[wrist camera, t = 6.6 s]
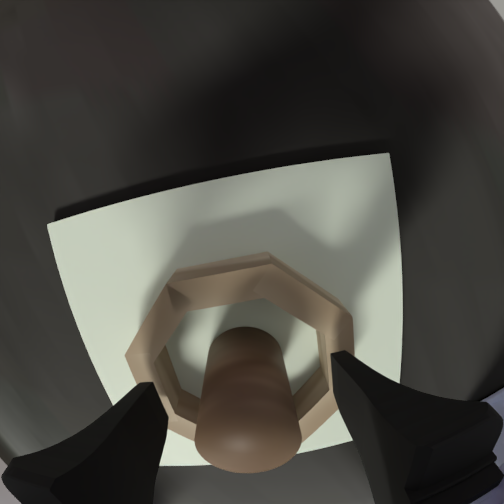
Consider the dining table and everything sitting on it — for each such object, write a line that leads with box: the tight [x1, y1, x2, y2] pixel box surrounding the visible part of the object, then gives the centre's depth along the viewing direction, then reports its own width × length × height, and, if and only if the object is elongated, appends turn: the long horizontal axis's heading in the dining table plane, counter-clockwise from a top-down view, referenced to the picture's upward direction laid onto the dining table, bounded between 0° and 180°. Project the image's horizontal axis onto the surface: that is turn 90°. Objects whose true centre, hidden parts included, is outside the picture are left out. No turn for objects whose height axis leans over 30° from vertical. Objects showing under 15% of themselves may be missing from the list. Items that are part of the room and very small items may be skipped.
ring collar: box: [124, 252, 355, 443], centre depth 13 cm, size 9×9×2 cm
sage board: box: [47, 153, 403, 466], centre depth 14 cm, size 16×16×1 cm
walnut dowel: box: [194, 326, 302, 473], centre depth 11 cm, size 4×4×6 cm
